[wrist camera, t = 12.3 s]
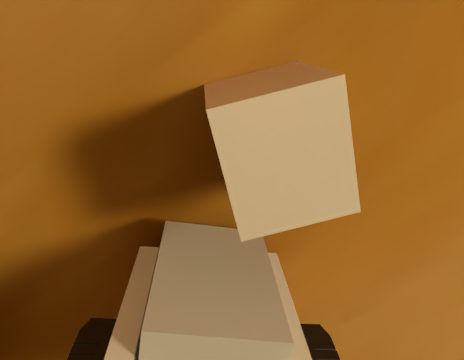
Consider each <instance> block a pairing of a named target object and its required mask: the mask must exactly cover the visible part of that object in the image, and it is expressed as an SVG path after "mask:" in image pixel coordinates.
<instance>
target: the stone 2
mask: <svg viewBox="0 0 464 360" xmlns="http://www.w3.org/2000/svg"><path fill="white" fill-rule="evenodd" d="M293 345H294V342H293V339H292V335H291V332H290V328H289V325H288V321H287V318H286V314H285V311H284V307H283V304H282V300H281V297H280V293H279V290H278V286H277V283H276V279H275V276H274V272H273V269H272V265H271V262H270V258H269V255H268V251H267V248H266V244H265V241H264V237H263V236H262V237H258V238H255V239H251V240H247V241H243V242H241V239H240V236H239V232H238V229H235V228H226V227H217V226H209V225H200V224H191V223H183V222H174V221H165V226H164V230H163V235H162V240H161V244H160V249H159V253H158V258H157V262H156V267H155V271H154V276H153V280H152V285H151V289H150V294H149V298H148V303H147V307H146V312H145V316H144V321H143V325H142V330H141V338H140V349H139V359H138V360H289V358H290V355H291V351H292V348H293Z"/></svg>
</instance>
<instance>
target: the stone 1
mask: <svg viewBox="0 0 464 360" xmlns="http://www.w3.org/2000/svg"><path fill="white" fill-rule="evenodd" d="M204 93H205V106H206V112H207V116H208V120H209V124H210V127H211V131H212V135H213V139H214V142H215V146H216V150H217V153H218V157H219V161H220V165H221V168H222V172H223V176H224V180H225V183H226V187H227V191H228V195H229V198H230V202H231V206H232V210H233V213H234V217H235V221H236V224H237V228H238V232H239V236H240V239H241V242H243V241H247V240H251V239H255V238H258V237H262V236H266V235H270V234H274V233H278V232H282V231H286V230H290V229H294V228H298V227H302V226H306V225H310V224H314V223H318V222H322V221H326V220H330V219H334V218H338V217H342V216H346V215H350V214H354V213H358V212H361V211H360V202H359V193H358V185H357V176H356V167H355V158H354V150H353V141H352V132H351V123H350V115H349V106H348V97H347V88H346V80H345V74H342V73H339V72H335V71H331V70H328V69H324V68H321V67H317V66H313V65H310V64H306V63H302V62H299V61H294V62H290V63H286V64H282V65H278V66H274V67H270V68H267V69H263V70H259V71H255V72H251V73H247V74H243V75H239V76H235V77H232V78H228V79H224V80H220V81H216V82H212V83H208V84H204Z"/></svg>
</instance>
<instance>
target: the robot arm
mask: <svg viewBox="0 0 464 360" xmlns="http://www.w3.org/2000/svg"><path fill="white" fill-rule="evenodd" d="M158 253H159V247H146V246H140V248H139V251H138V254H137V257H136V261H135V264H134V267H133V270H132V273H131V276H130V279H129V282H128V286H127V289H126V292H125V295H124V298H123V301H122V304H121V307H120V311H119V314H118V317H117V319H103V318H91V319H90V320H89V321H88V322H87V323H86V324H85V325H84V326H83V327H82V328H81V329H80V331H79V333H78V336H77V338H76V340H75V343H74V346H73V347H72V349H71V352H70V354H69V357H68V359H67V360H138V359H139V349H140V338H141V330H142V325H143V321H144V316H145V312H146V307H147V303H148V298H149V294H150V289H151V285H152V280H153V276H154V271H155V267H156V262H157V258H158ZM268 255H269V258H270V262H271V265H272V269H273V272H274V276H275V279H276V283H277V286H278V290H279V293H280V297H281V300H282V304H283V307H284V311H285V314H286V318H287V321H288V325H289V328H290V332H291V335H292V339H293V342H294V345H293V348H292V351H291V355H290V358H289V360H340V358H339V356H338V353H337V351H335V346H334V344H333V342H332V339H331V337H330V335H329V334H328V333H327V332H326V331H325V330H324V329H323V328H322V327H321V325H320V324H300V322H299V319H298V316H297V313H296V310H295V307H294V304H293V301H292V298H291V295H290V292H289V289H288V286H287V283H286V280H285V277H284V274H283V271H282V268H281V265H280V262H279V259H278V256H277V253H268Z"/></svg>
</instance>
